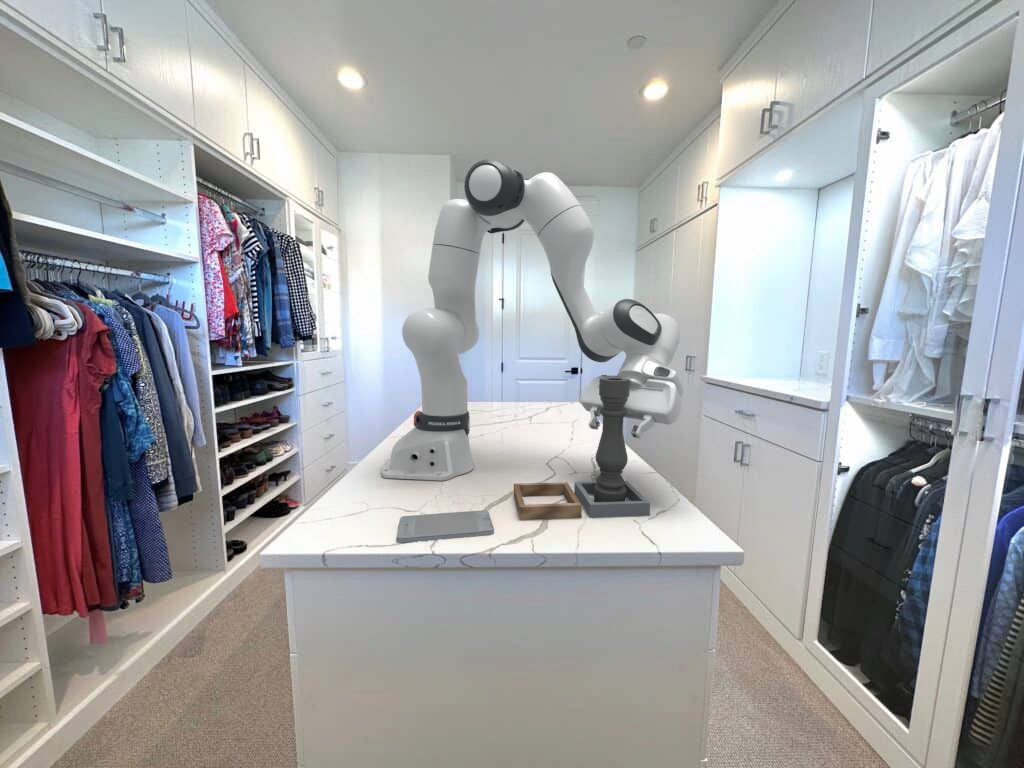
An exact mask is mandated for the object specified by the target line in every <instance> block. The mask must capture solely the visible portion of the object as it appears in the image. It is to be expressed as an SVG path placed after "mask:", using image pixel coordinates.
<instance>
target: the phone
mask: <svg viewBox="0 0 1024 768" xmlns="http://www.w3.org/2000/svg"><path fill="white" fill-rule="evenodd" d="M494 534H495V528H494V525H493V521H492V518H491V514H490V511H489V510H487V509H482V510H467V511H456V512H455V511H453V512H452V511H451V512H440V513H427V514H413V515H403V516H401V517H400V518H399V523H398V530H397V535H396V543H398V544H405V543H419V542H418V541H420V542H428V540H431V541H438V540H437V539H442V540H449V539H451V540H453V538H454V539H461V538H464V537H465V538H474V537H487V536H492V535H494ZM404 542H405V543H404Z"/></svg>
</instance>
